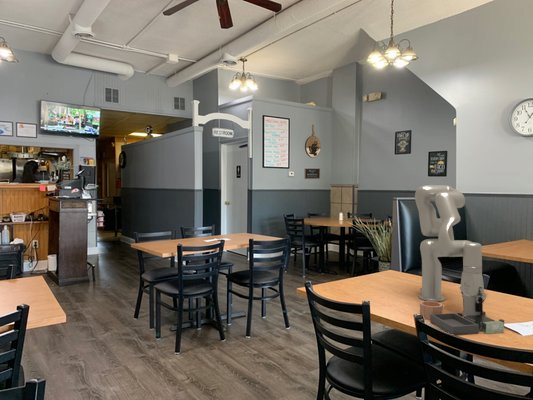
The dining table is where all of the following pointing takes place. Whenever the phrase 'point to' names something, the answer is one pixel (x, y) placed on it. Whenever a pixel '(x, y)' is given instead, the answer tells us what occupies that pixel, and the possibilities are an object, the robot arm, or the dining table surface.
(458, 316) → the dark grey tray
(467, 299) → the gray cylinder
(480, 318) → the cradle plate
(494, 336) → the dining table surface
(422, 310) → the cup
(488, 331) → the cradle base
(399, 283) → the dining table surface
